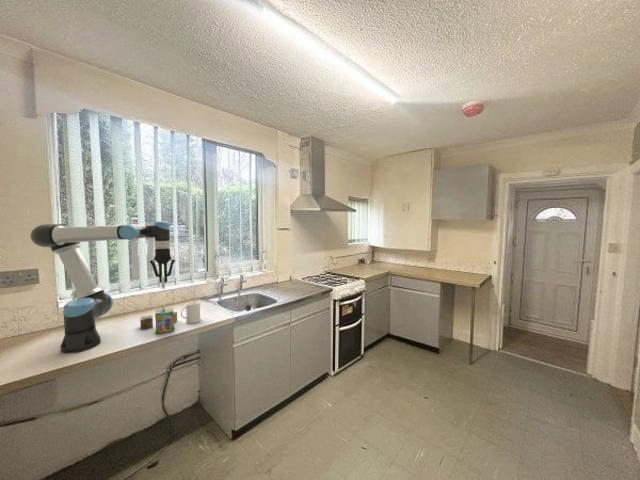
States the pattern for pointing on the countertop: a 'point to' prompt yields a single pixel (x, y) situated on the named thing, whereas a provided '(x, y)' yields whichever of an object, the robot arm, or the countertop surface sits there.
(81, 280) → the robot arm
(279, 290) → the countertop surface
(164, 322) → the chalk box
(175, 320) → the walnut block
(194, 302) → the mug
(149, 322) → the walnut block
